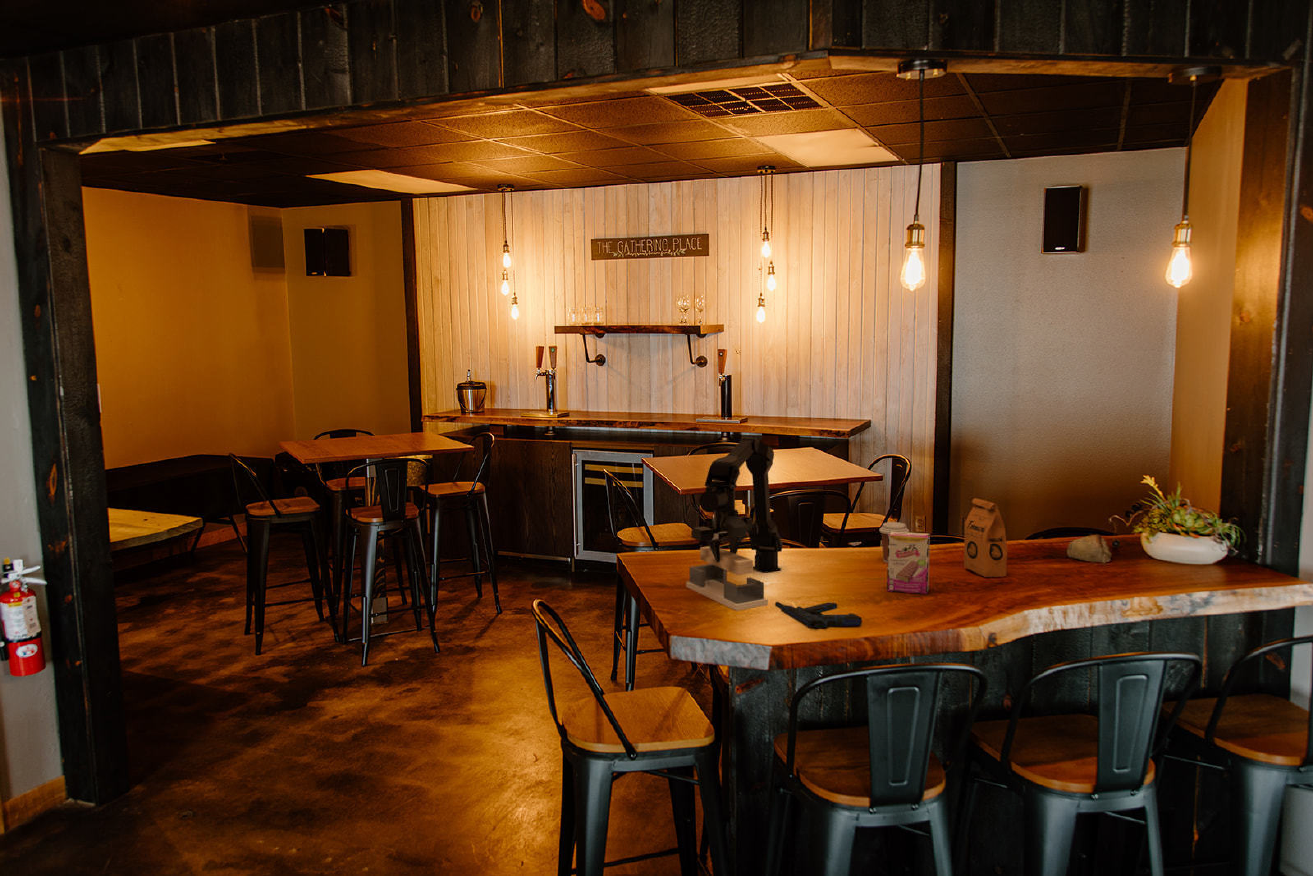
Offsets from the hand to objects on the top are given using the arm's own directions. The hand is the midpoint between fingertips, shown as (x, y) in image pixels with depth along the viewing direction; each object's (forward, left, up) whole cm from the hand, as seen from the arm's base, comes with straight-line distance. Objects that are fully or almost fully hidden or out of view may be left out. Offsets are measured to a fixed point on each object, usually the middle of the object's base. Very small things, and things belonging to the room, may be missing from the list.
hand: (725, 561), depth 244 cm
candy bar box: (-46, +23, -10) cm, 52 cm away
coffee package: (-79, +21, -10) cm, 82 cm away
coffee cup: (-66, -4, -10) cm, 67 cm away
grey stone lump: (-120, +26, -10) cm, 124 cm away
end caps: (0, 0, -8) cm, 8 cm away
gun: (-11, +27, -11) cm, 31 cm away
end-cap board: (0, 0, -10) cm, 10 cm away
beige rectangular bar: (0, 0, -1) cm, 1 cm away
